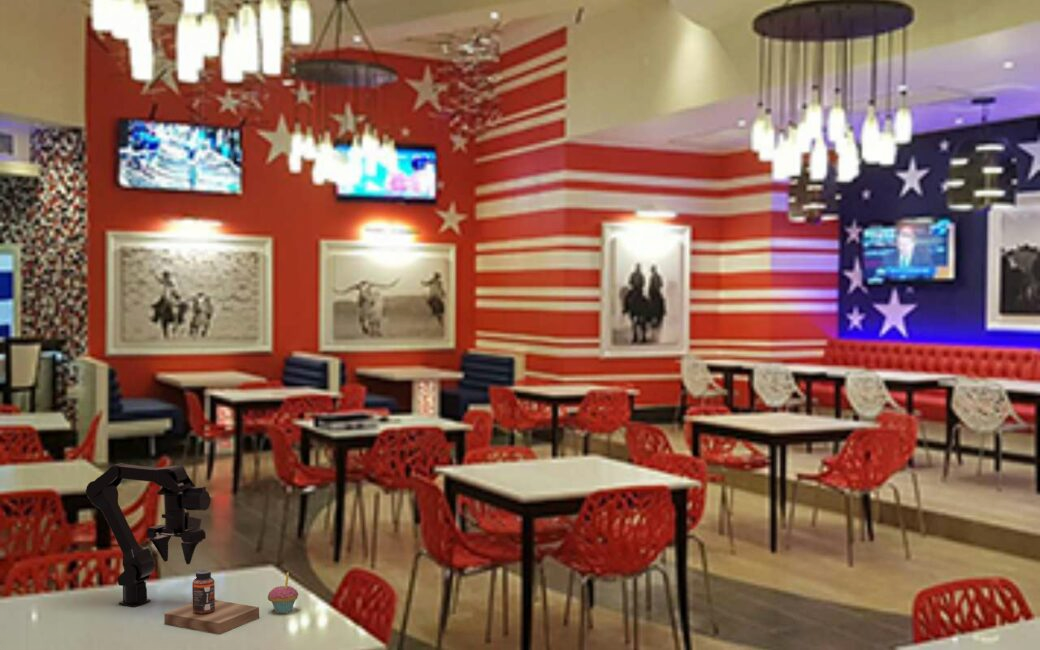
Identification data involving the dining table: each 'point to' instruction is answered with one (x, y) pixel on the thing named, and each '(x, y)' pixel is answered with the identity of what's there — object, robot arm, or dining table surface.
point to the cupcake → (283, 597)
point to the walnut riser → (212, 617)
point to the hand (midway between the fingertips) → (177, 562)
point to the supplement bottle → (203, 592)
